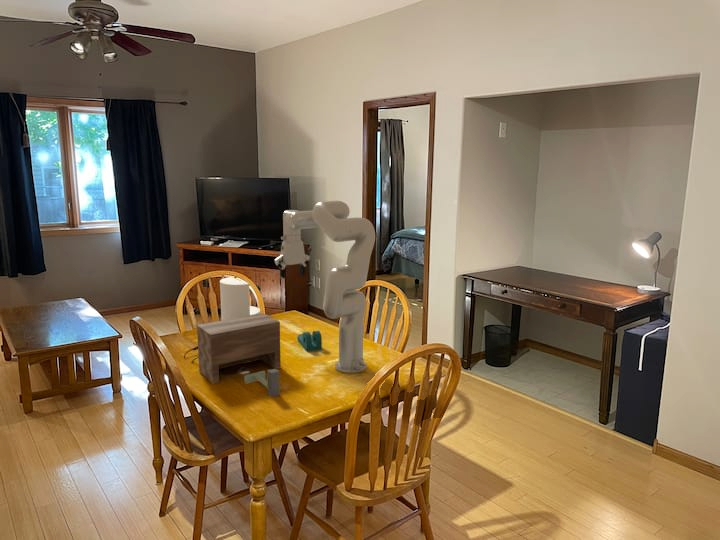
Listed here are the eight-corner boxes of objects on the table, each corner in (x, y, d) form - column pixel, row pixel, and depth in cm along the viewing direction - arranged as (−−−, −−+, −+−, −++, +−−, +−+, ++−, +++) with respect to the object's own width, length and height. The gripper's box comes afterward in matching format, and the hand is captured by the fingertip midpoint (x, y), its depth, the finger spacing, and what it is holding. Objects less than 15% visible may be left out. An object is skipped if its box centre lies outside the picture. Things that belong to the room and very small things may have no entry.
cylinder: (232, 349, 234) (230, 286, 229) (215, 338, 247) (213, 279, 242) (268, 341, 245) (266, 281, 239) (249, 331, 258) (248, 274, 252)
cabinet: (280, 367, 215) (279, 321, 211) (213, 383, 199) (210, 334, 195) (264, 356, 226) (263, 313, 222) (199, 371, 210) (196, 324, 206)
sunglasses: (220, 356, 226) (218, 345, 225) (195, 368, 218) (193, 356, 216) (206, 350, 233) (204, 339, 231) (181, 361, 225) (179, 350, 223)
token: (252, 373, 210) (252, 370, 209) (240, 376, 207) (240, 373, 206) (246, 369, 214) (246, 366, 213) (235, 372, 211) (234, 369, 210)
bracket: (321, 350, 235) (321, 333, 233) (306, 352, 232) (306, 334, 231) (309, 337, 251) (309, 321, 250) (295, 339, 249) (295, 322, 247)
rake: (285, 393, 192) (285, 369, 190) (265, 399, 187) (264, 374, 185) (264, 377, 205) (263, 355, 203) (244, 382, 200) (243, 359, 198)
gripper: (278, 241, 229) (279, 280, 233) (313, 237, 239) (313, 275, 243) (270, 238, 235) (271, 277, 239) (305, 235, 245) (305, 272, 249)
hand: (292, 276), depth 241 cm, fingers open, 9 cm apart
